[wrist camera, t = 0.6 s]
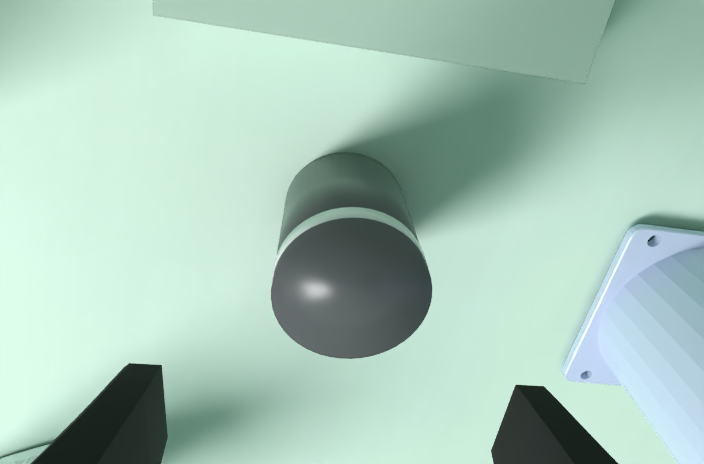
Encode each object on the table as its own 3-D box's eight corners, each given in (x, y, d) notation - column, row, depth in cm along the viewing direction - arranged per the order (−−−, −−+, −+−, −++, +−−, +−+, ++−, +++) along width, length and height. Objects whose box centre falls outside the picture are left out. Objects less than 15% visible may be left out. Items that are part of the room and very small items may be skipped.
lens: (414, 160, 18) (450, 236, 13) (391, 265, 20) (414, 364, 15) (290, 144, 17) (277, 216, 12) (279, 253, 19) (264, 352, 14)
